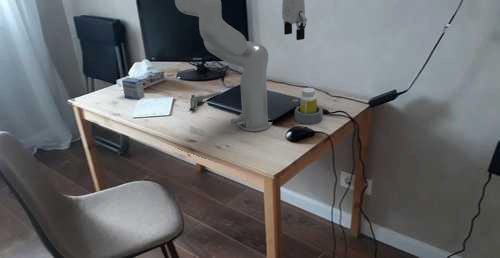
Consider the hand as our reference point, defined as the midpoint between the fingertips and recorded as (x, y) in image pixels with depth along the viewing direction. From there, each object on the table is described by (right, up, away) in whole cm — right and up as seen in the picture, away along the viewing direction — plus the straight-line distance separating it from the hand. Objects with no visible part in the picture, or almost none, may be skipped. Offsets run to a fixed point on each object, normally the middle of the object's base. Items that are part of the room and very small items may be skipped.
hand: (294, 36), depth 162 cm
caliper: (-35, -24, +23) cm, 48 cm away
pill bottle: (+6, -31, +1) cm, 31 cm away
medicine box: (-69, -21, +31) cm, 79 cm away
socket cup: (+6, -31, +1) cm, 32 cm away
